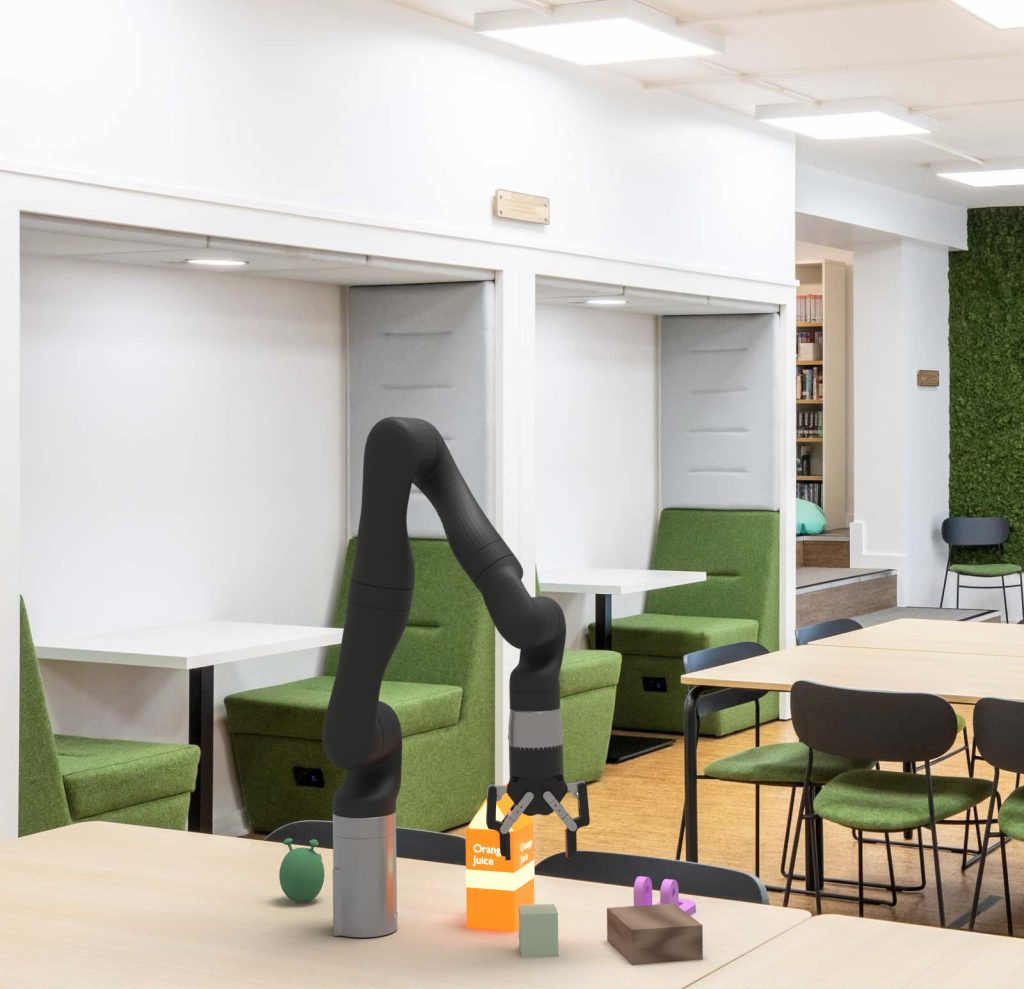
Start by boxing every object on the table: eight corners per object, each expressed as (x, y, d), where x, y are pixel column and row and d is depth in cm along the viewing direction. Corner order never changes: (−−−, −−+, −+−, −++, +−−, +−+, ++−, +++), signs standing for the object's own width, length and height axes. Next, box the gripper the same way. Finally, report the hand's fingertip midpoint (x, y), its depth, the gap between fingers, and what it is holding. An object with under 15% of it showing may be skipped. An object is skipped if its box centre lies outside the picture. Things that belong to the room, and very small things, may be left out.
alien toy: (329, 895, 257) (329, 832, 257) (319, 908, 250) (318, 843, 250) (286, 895, 258) (285, 832, 258) (274, 907, 250) (274, 842, 250)
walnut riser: (632, 967, 218) (632, 930, 218) (607, 943, 230) (606, 907, 230) (702, 961, 220) (702, 925, 220) (674, 938, 232) (674, 903, 232)
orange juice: (465, 927, 237) (464, 791, 237) (487, 912, 246) (485, 781, 246) (515, 932, 235) (514, 794, 235) (536, 916, 243) (534, 783, 243)
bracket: (669, 930, 235) (669, 883, 235) (634, 926, 238) (633, 879, 238) (700, 910, 247) (700, 864, 247) (666, 906, 249) (666, 860, 249)
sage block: (522, 958, 222) (521, 914, 222) (518, 947, 227) (518, 905, 227) (558, 956, 222) (557, 913, 222) (554, 946, 227) (553, 903, 227)
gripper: (486, 747, 220) (489, 866, 220) (590, 743, 221) (593, 862, 221) (482, 739, 228) (485, 854, 228) (583, 735, 229) (586, 850, 229)
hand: (538, 858), depth 224 cm, fingers open, 8 cm apart
